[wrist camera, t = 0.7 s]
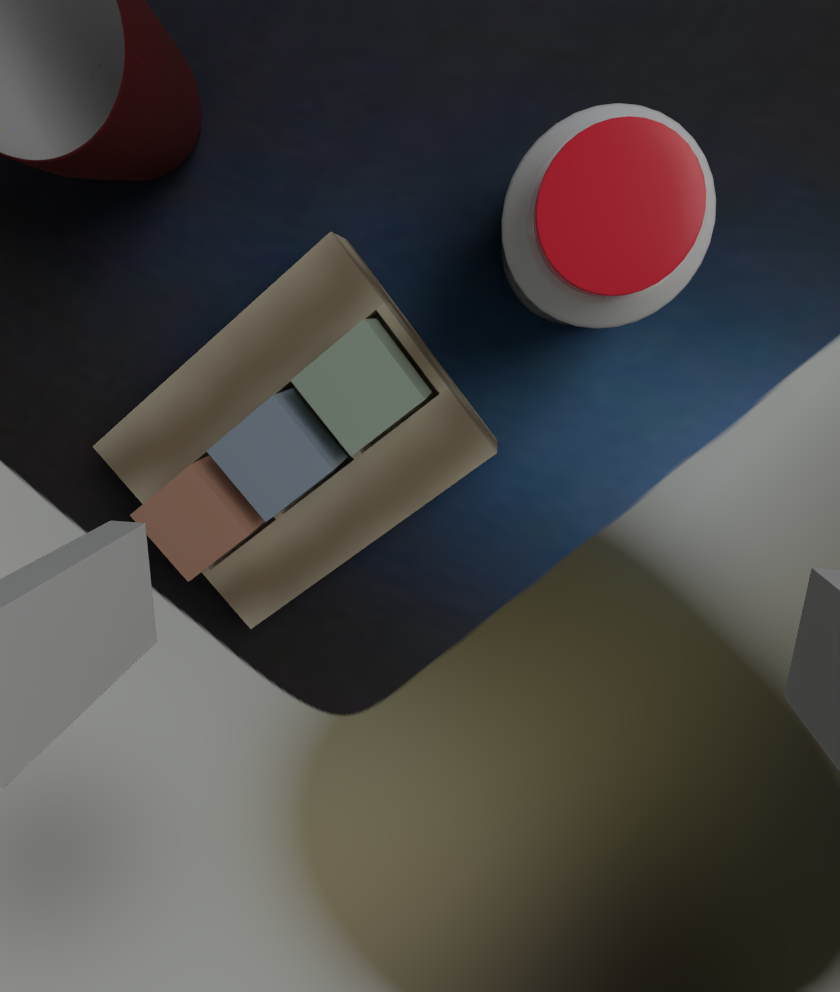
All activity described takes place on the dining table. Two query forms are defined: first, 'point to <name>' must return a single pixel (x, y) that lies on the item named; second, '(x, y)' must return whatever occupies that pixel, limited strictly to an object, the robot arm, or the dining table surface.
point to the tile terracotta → (197, 517)
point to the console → (268, 370)
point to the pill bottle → (607, 217)
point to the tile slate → (277, 453)
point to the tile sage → (361, 385)
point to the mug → (94, 90)
